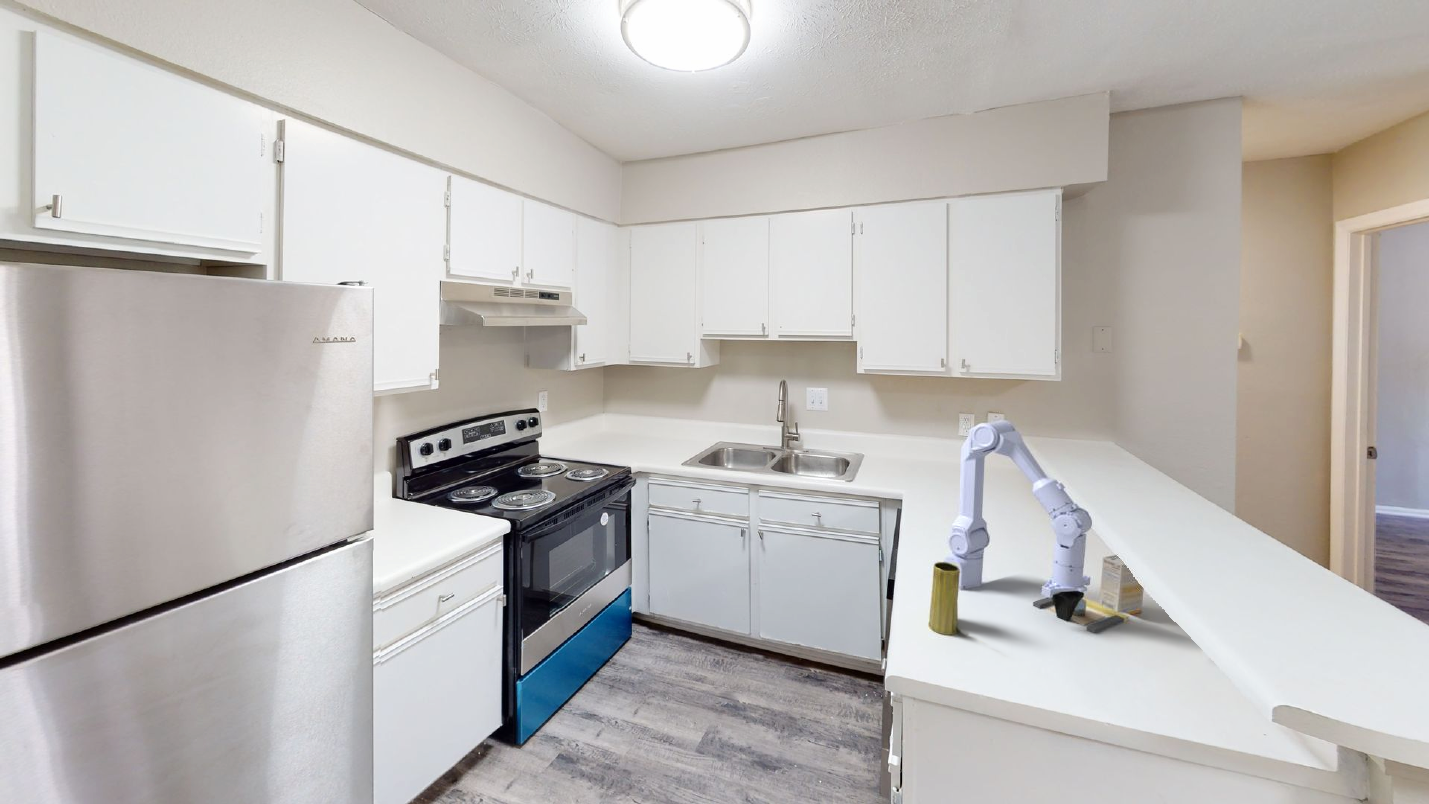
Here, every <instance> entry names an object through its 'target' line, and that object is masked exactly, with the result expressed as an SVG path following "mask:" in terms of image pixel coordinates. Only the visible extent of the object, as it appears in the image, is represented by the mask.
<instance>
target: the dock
mask: <svg viewBox="0 0 1429 804" xmlns="http://www.w3.org/2000/svg"><path fill="white" fill-rule="evenodd" d="M1082 599H1084V600H1085V601H1086V608H1089V609H1090V610H1091V609H1092V611H1093V610H1094V611H1096V612H1097V613H1101V614H1103V615H1106V616H1108V617H1107V618H1105V619H1104V618H1103V619H1101V620H1100V621H1099V620H1098V621H1095V622H1093V623H1090V624H1088V625H1086V631H1087V632H1089V633H1092V634H1098V633H1099V632H1102V631H1105V630H1108V629H1109V628H1113V627H1115V626H1117V625H1120V624H1122V623H1125V622H1127V621H1129V615H1126V614H1124V613H1122V612H1117V611H1114V610H1112V609H1110V608H1108V607H1106V606H1104V605H1102V604H1099V603H1097V602H1095V601H1093V600H1090V599H1087V598H1085V597H1083V598H1082ZM1052 605H1054V603H1053V600H1052V598H1049V597H1044V598H1040V599H1038V600H1035V601H1032V607H1035V608H1037V609H1043V608H1046V607H1049V606H1052Z"/></svg>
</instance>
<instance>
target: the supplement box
mask: <svg viewBox="0 0 1429 804" xmlns="http://www.w3.org/2000/svg"><path fill="white" fill-rule="evenodd" d="M1117 555H1118V554H1112V555H1109V556H1103V557H1102V566H1101V567H1102V568H1101V578H1100V579H1101V580H1100V588H1099V589H1100V591H1099V592H1100V593H1099V601H1098V602H1099V603H1098V604H1100V605H1102V606H1105V607H1107V608H1109V609H1112V610H1114V611H1117V612H1119V613H1122V612H1123V613H1125V614H1128V615H1130V616H1131V615H1134V614H1139V613H1142V609H1143V598H1144V588H1145V587H1144V588H1143V587H1142V586H1141V585H1140V584H1139V583H1138V581H1137V580H1136V579H1135V577H1133V574H1132V573H1131V571H1130V570H1129V568H1127V566H1126V565H1125V564H1124V562H1123V561H1122V560H1121V559H1120V558H1119V557H1118V556H1117Z"/></svg>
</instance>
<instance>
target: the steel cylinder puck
mask: <svg viewBox="0 0 1429 804" xmlns="http://www.w3.org/2000/svg"><path fill="white" fill-rule="evenodd" d="M1086 609H1087V607H1086V601H1085V600H1084V599H1081V600H1080V601H1079V603H1078V604H1077V606H1076V608H1075V610H1074V612H1073V616H1077V617H1083V616H1085V613H1086Z"/></svg>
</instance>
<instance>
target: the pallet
mask: <svg viewBox="0 0 1429 804" xmlns="http://www.w3.org/2000/svg"><path fill="white" fill-rule="evenodd" d="M1047 610H1048V611H1050V612H1053V613H1055V614H1056V610H1055V606H1052V607H1049V608H1047ZM1104 618H1105V616H1104V615H1101V614H1099V613H1098V612H1094V611H1093V610H1091V609H1088V608H1086V613H1085V616H1083V617H1077V616H1073V615H1072V618H1071V620H1070V621H1073V622H1075V623H1077V624H1079V625H1080V626H1085V625H1086V626H1087V625H1090V624H1093V623H1095V622H1098V621H1099V620H1103V619H1104ZM1105 619H1106V618H1105Z"/></svg>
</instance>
